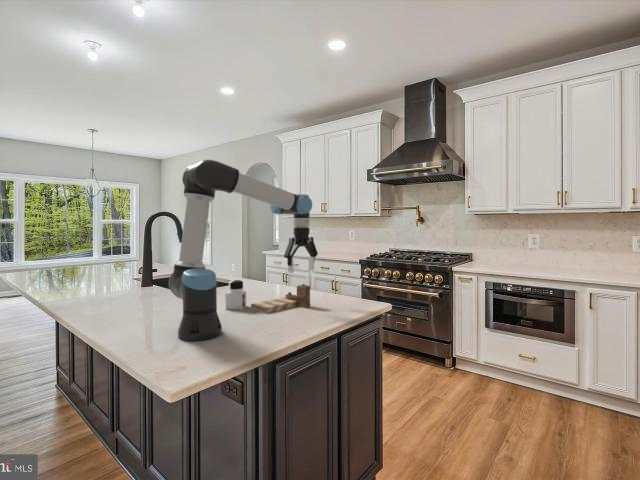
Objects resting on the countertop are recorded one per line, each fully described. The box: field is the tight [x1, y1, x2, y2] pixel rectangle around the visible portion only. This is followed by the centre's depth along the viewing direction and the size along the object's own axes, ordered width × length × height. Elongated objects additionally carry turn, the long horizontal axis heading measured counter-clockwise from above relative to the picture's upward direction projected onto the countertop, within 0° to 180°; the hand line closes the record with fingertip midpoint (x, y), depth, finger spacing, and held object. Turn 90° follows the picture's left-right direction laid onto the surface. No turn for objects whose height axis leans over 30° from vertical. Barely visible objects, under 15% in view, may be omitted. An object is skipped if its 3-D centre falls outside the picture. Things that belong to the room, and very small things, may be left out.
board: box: [250, 296, 297, 314], centre depth 174 cm, size 26×11×2 cm, turn 137°
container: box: [225, 279, 247, 311], centre depth 171 cm, size 8×8×13 cm
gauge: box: [285, 283, 311, 309], centre depth 177 cm, size 4×14×11 cm, turn 49°
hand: (301, 271), depth 173 cm, fingers open, 13 cm apart
